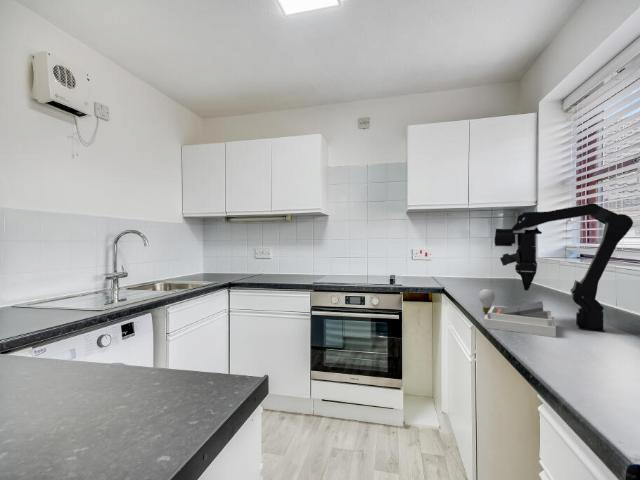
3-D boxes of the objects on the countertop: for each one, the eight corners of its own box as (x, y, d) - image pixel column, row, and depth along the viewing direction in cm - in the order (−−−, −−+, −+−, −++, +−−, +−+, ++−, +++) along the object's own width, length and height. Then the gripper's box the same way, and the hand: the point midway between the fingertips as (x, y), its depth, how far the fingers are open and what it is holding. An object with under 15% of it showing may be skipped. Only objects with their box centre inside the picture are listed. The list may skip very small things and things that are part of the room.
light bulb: (491, 312, 133) (491, 288, 133) (497, 315, 127) (497, 290, 127) (476, 311, 134) (476, 287, 134) (482, 315, 128) (481, 290, 128)
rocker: (543, 304, 112) (541, 301, 112) (543, 311, 102) (541, 307, 103) (499, 312, 120) (498, 308, 120) (496, 318, 110) (494, 314, 110)
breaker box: (554, 325, 112) (553, 311, 112) (555, 337, 99) (555, 321, 99) (489, 317, 123) (489, 304, 123) (483, 327, 110) (483, 312, 110)
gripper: (504, 245, 130) (504, 283, 130) (499, 247, 115) (499, 290, 115) (537, 245, 124) (537, 286, 124) (536, 247, 109) (536, 293, 109)
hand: (526, 288), depth 118 cm, fingers open, 9 cm apart
